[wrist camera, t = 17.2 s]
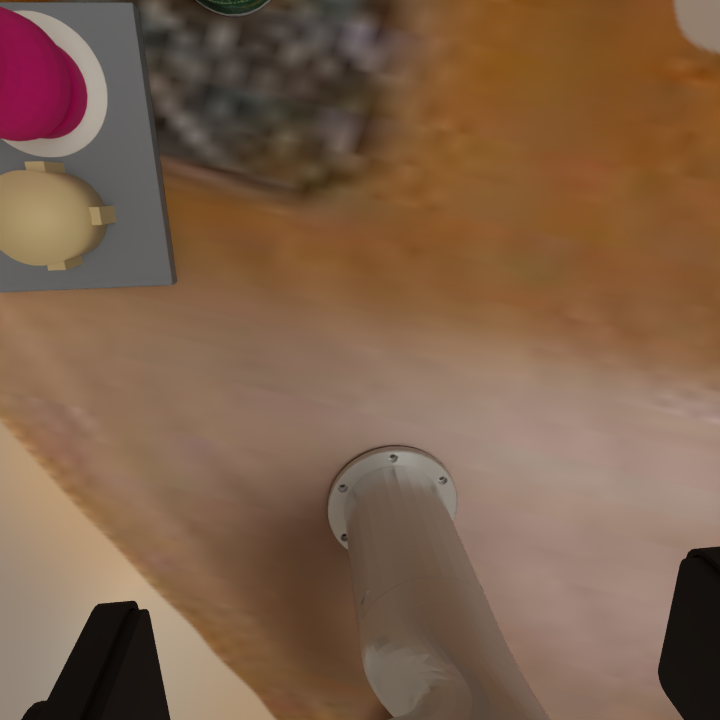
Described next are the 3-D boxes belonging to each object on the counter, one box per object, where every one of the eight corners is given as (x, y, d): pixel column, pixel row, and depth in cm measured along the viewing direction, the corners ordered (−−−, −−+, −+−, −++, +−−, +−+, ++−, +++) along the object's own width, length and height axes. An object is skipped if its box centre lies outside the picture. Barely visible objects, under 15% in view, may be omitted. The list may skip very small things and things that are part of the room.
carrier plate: (177, 281, 42) (155, 297, 36) (-5, 289, 41) (-60, 307, 35) (139, 10, 36) (104, -27, 30) (-76, 9, 35) (-158, -29, 29)
